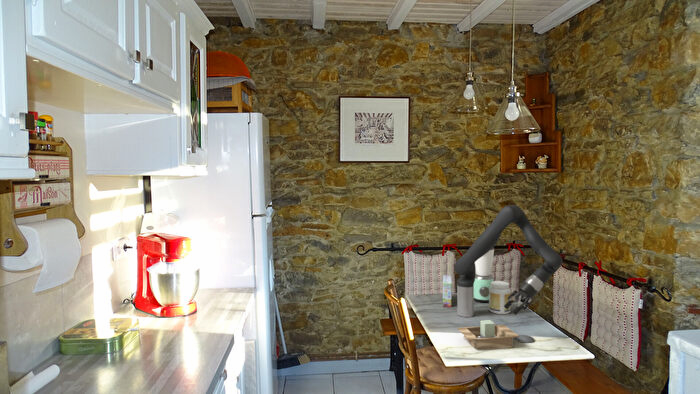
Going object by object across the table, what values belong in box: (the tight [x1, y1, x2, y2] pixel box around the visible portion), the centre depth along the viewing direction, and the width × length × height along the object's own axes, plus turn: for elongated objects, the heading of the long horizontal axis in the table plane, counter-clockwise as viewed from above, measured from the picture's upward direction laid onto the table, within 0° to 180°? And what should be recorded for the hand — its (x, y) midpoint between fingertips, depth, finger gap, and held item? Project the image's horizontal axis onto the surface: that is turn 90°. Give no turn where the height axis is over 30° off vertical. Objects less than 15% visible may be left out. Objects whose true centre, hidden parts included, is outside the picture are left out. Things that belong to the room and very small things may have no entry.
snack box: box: [442, 275, 453, 308], centre depth 276 cm, size 21×6×15 cm, turn 168°
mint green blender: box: [474, 247, 495, 303], centre depth 279 cm, size 19×13×35 cm
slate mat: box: [513, 334, 535, 344], centre depth 214 cm, size 9×9×1 cm
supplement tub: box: [488, 280, 512, 315], centre depth 257 cm, size 12×12×17 cm
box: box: [479, 319, 496, 338], centre depth 212 cm, size 5×5×10 cm
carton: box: [457, 324, 520, 351], centre depth 212 cm, size 16×25×5 cm, turn 97°
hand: (509, 310), depth 213 cm, fingers open, 8 cm apart
